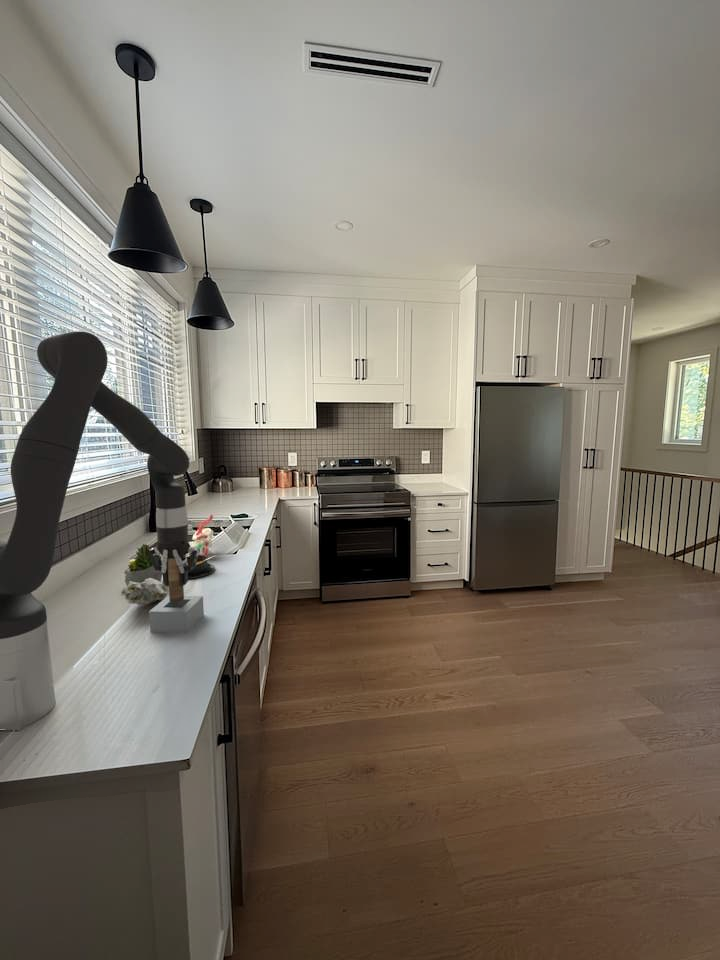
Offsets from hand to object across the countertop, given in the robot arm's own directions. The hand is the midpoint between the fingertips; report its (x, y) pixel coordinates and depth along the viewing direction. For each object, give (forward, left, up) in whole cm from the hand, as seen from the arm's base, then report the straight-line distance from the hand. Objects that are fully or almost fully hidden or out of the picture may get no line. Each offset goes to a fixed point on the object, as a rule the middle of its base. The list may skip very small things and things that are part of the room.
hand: (176, 584), depth 107 cm
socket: (0, 0, -11) cm, 11 cm away
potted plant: (+26, +24, -12) cm, 37 cm away
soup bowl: (+38, +13, -12) cm, 42 cm away
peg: (0, 0, -4) cm, 4 cm away
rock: (+11, +15, -12) cm, 22 cm away
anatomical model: (+57, +18, -12) cm, 61 cm away
